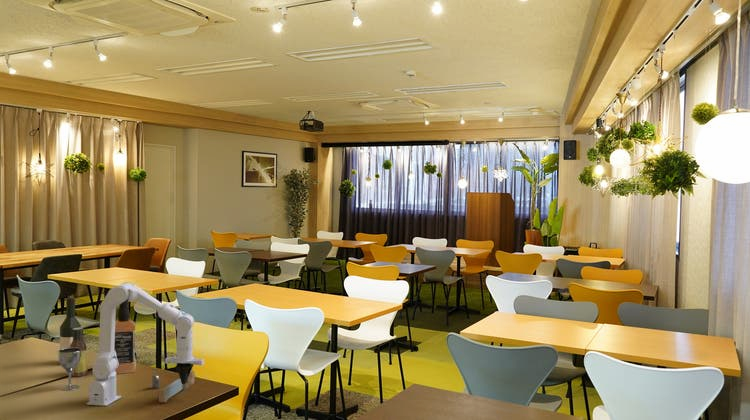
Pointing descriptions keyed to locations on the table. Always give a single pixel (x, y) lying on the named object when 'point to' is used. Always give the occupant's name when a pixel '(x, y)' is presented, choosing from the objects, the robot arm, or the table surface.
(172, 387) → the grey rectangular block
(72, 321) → the wine bottle
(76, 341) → the sauce bottle
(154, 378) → the gate posts
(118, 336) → the whiskey bottle
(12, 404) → the table surface
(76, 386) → the wine glass
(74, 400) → the table surface
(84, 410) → the table surface
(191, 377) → the fence stub
